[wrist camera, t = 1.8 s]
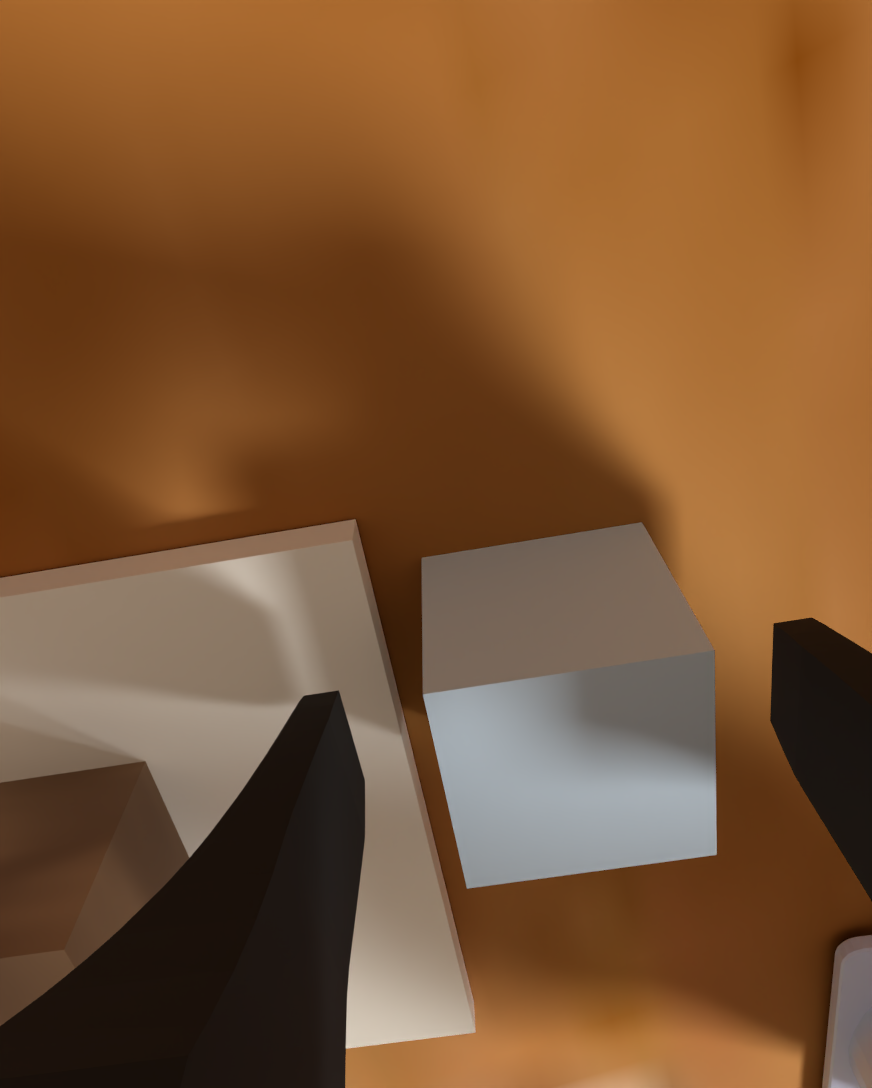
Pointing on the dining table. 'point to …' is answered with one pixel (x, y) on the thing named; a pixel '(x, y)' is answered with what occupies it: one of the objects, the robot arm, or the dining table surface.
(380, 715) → the board
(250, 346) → the dining table surface
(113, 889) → the walnut block
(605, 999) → the dining table surface
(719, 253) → the dining table surface
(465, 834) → the gray block
